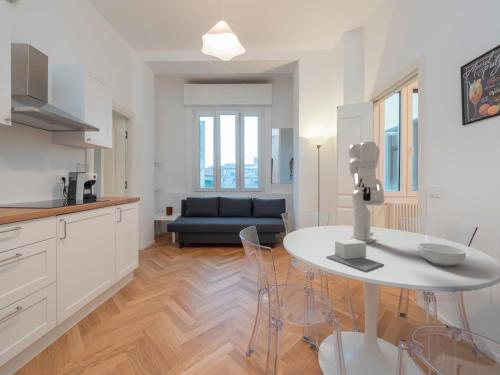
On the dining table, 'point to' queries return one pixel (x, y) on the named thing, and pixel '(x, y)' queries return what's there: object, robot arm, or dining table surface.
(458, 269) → the dining table surface
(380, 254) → the dining table surface
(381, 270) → the dining table surface
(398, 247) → the dining table surface
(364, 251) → the supplement box
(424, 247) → the cereal bowl
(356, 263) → the mat
